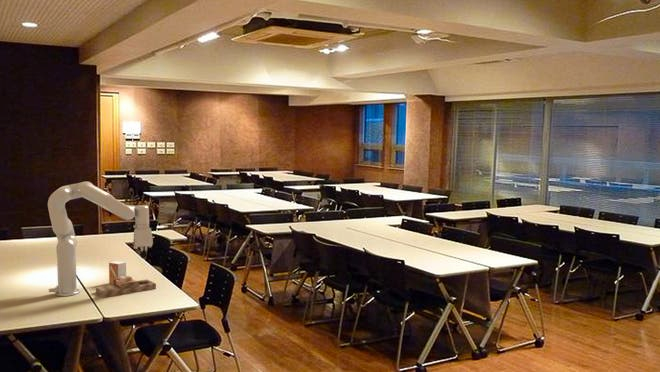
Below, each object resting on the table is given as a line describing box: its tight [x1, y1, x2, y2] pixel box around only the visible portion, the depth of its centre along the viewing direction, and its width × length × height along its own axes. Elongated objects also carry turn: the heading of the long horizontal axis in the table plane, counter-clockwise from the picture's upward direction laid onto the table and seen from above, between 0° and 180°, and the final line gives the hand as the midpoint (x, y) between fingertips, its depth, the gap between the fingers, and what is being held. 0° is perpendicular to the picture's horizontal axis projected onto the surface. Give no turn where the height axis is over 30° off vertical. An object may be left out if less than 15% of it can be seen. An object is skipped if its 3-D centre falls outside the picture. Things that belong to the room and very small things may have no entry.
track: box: [95, 279, 157, 298], centre depth 325 cm, size 30×13×6 cm, turn 130°
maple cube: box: [120, 275, 133, 283], centre depth 325 cm, size 5×5×5 cm
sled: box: [116, 278, 136, 287], centre depth 325 cm, size 9×9×2 cm
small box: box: [108, 260, 127, 285], centre depth 341 cm, size 8×6×13 cm
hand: (143, 257), depth 331 cm, fingers closed
